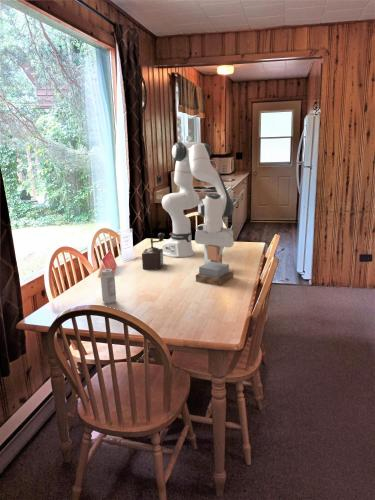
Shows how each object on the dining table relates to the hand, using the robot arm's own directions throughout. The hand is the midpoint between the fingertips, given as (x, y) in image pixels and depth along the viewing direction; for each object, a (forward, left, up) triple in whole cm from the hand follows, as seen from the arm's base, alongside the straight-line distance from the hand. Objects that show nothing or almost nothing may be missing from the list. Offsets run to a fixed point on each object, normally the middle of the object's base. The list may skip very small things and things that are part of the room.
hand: (214, 253), depth 204 cm
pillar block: (0, 0, -3) cm, 3 cm away
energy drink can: (-28, -48, -14) cm, 57 cm away
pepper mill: (-42, +6, -14) cm, 45 cm away
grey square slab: (0, 0, -10) cm, 10 cm away
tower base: (0, 0, -14) cm, 14 cm away
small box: (-8, +14, -14) cm, 21 cm away
